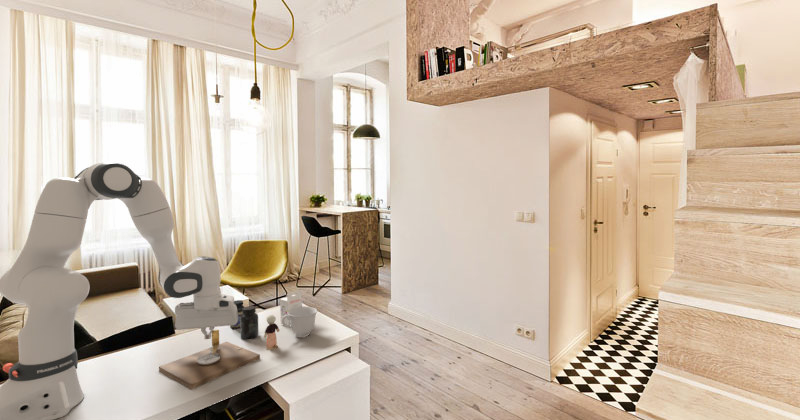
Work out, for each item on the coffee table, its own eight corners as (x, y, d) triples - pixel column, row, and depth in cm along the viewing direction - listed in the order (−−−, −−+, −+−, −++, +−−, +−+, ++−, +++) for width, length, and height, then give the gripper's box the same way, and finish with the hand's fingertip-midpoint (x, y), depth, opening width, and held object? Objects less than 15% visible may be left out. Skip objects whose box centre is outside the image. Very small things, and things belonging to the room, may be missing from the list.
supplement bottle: (238, 336, 152) (237, 307, 151) (255, 332, 156) (255, 304, 156) (243, 341, 147) (242, 311, 146) (260, 337, 151) (260, 308, 150)
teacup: (276, 335, 153) (275, 311, 152) (309, 327, 162) (309, 304, 162) (288, 345, 144) (288, 320, 143) (322, 335, 153) (322, 311, 153)
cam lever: (218, 363, 124) (218, 344, 124) (195, 366, 122) (194, 347, 122) (224, 346, 138) (224, 328, 138) (203, 348, 136) (203, 331, 136)
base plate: (191, 389, 112) (191, 383, 112) (159, 371, 123) (158, 366, 123) (259, 358, 132) (259, 354, 132) (226, 345, 143) (226, 341, 143)
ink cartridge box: (295, 319, 172) (294, 287, 171) (302, 321, 170) (302, 289, 169) (280, 324, 165) (279, 292, 164) (287, 327, 162) (287, 293, 161)
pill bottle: (239, 329, 159) (239, 304, 158) (226, 328, 160) (226, 303, 159) (248, 324, 165) (247, 300, 164) (235, 323, 166) (235, 299, 165)
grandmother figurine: (272, 343, 145) (271, 311, 145) (281, 344, 145) (280, 312, 144) (260, 351, 138) (260, 318, 137) (270, 352, 137) (269, 319, 136)
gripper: (172, 306, 128) (173, 345, 129) (236, 301, 135) (237, 339, 135) (177, 300, 134) (177, 338, 135) (238, 296, 141) (238, 332, 141)
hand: (208, 338), depth 135 cm, fingers closed
